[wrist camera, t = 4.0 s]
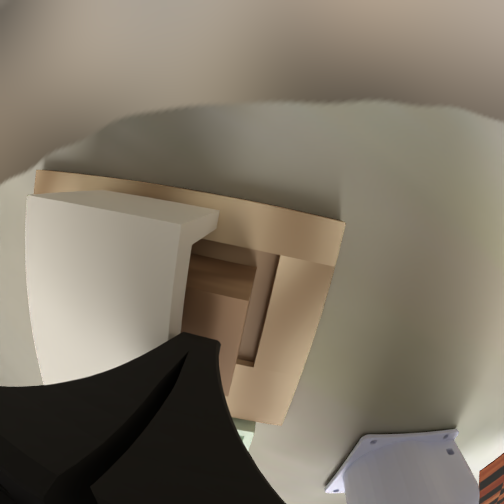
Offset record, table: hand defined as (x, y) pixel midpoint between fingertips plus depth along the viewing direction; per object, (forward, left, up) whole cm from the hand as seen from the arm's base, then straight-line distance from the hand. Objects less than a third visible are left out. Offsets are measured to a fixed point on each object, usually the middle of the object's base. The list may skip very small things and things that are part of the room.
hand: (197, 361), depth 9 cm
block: (+1, 0, -5) cm, 5 cm away
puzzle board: (+4, +1, -6) cm, 7 cm away
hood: (+4, 0, -5) cm, 6 cm away
